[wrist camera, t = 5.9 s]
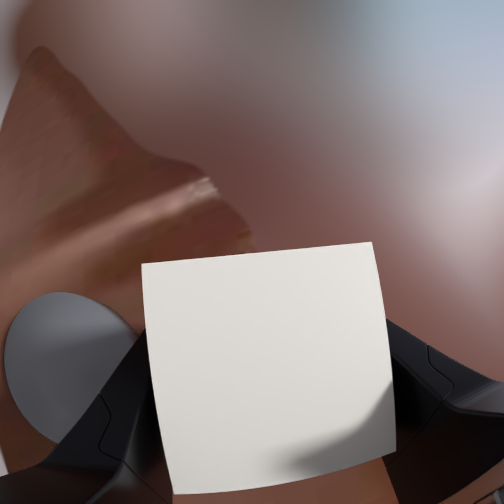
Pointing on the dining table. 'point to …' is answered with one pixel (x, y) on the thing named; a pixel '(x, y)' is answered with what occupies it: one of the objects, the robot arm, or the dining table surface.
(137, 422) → the robot arm
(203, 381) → the carton
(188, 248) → the dining table surface
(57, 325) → the grey dome
